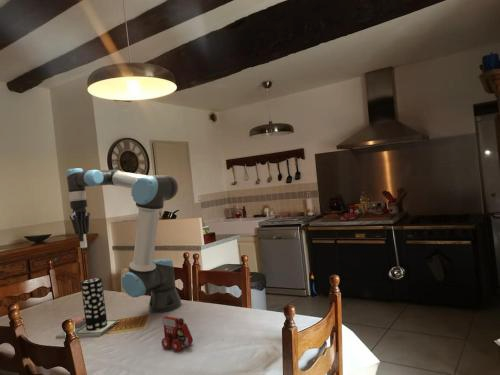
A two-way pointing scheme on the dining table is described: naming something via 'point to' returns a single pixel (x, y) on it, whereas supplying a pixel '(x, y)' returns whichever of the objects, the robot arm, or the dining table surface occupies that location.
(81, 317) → the button
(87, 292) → the white-spotted black cylinder
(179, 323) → the toy fire truck
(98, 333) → the picture board
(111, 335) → the dining table surface
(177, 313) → the dining table surface
